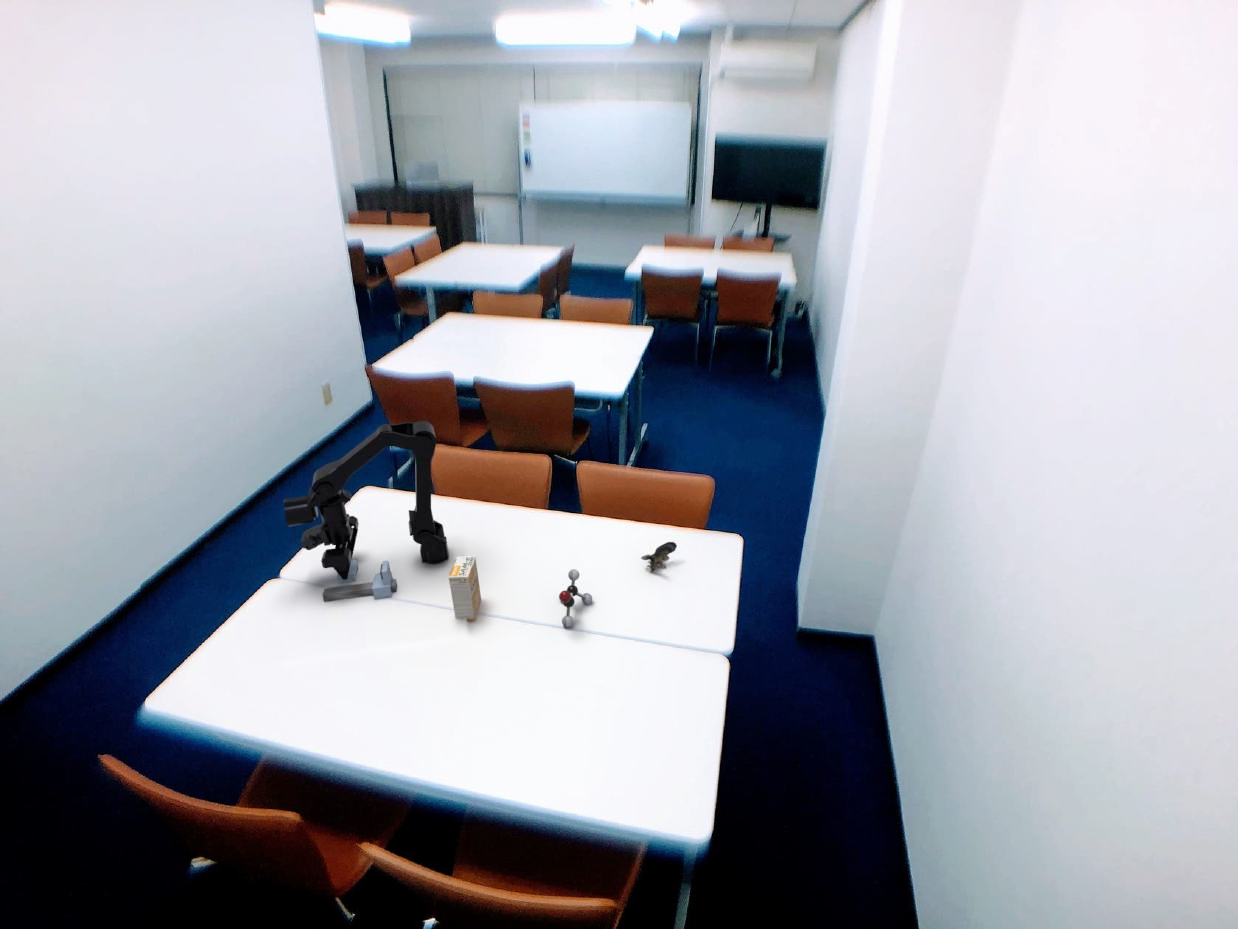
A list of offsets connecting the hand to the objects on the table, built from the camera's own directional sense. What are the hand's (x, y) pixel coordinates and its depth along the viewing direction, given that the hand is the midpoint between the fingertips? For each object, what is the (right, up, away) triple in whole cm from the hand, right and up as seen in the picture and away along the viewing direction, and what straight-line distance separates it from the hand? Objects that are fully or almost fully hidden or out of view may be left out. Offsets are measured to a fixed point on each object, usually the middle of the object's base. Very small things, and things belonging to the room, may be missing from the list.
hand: (347, 568), depth 176 cm
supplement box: (+33, -9, -10) cm, 36 cm away
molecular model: (+58, -9, -12) cm, 60 cm away
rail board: (+5, -6, -5) cm, 9 cm away
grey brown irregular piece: (+80, 0, +4) cm, 80 cm away
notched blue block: (0, -3, +1) cm, 3 cm away
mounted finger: (+11, -5, -5) cm, 13 cm away
